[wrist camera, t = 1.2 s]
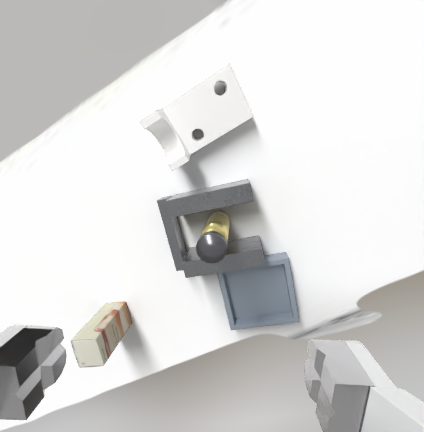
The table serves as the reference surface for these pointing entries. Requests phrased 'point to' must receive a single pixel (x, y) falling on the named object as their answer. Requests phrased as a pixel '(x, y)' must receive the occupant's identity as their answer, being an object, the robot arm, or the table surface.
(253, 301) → the tray
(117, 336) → the skincare box
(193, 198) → the clevis block
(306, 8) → the table surface
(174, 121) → the bracket
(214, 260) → the pin
